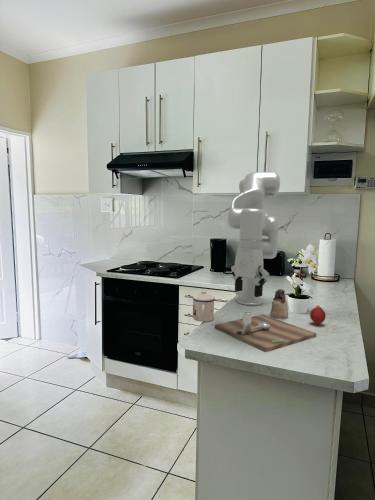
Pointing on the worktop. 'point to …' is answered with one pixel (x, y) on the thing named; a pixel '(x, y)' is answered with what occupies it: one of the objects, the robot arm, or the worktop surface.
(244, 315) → the dial lever
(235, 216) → the robot arm
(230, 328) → the wooden cutting board
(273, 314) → the tan brown ceramic jug
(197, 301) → the teacup with lid
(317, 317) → the onion
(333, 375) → the worktop surface
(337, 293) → the worktop surface
